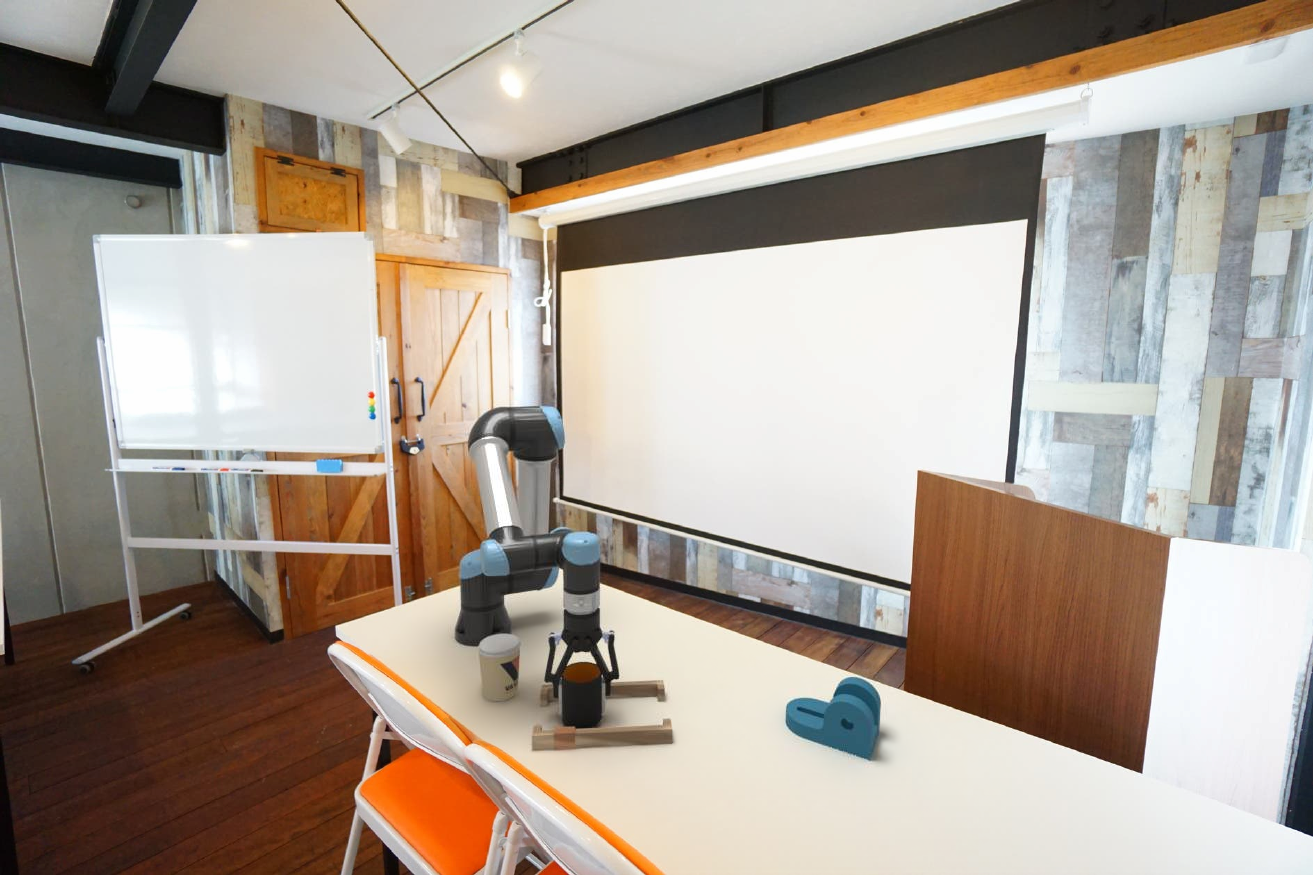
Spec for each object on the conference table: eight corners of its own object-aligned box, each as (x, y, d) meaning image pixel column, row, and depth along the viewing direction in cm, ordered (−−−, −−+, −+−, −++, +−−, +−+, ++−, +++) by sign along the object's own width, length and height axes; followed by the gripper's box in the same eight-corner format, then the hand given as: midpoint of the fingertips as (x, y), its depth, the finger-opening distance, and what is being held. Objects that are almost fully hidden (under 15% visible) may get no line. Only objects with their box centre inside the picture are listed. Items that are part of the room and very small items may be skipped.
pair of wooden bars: (542, 696, 129) (542, 682, 128) (662, 691, 131) (663, 677, 131) (532, 750, 111) (531, 734, 110) (672, 743, 113) (672, 727, 113)
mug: (616, 702, 125) (616, 658, 123) (589, 735, 114) (589, 686, 112) (584, 693, 128) (583, 650, 127) (554, 724, 117) (553, 677, 116)
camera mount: (879, 731, 118) (882, 683, 117) (869, 761, 109) (872, 709, 108) (793, 704, 127) (795, 660, 126) (778, 730, 118) (780, 682, 117)
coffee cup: (510, 706, 125) (509, 654, 124) (471, 700, 127) (469, 649, 126) (528, 683, 134) (527, 634, 133) (491, 678, 136) (490, 631, 135)
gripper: (527, 617, 113) (529, 723, 116) (633, 613, 115) (632, 718, 118) (532, 601, 120) (534, 701, 123) (631, 598, 123) (630, 697, 125)
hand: (582, 709), depth 121 cm, fingers closed on mug, 8 cm apart
